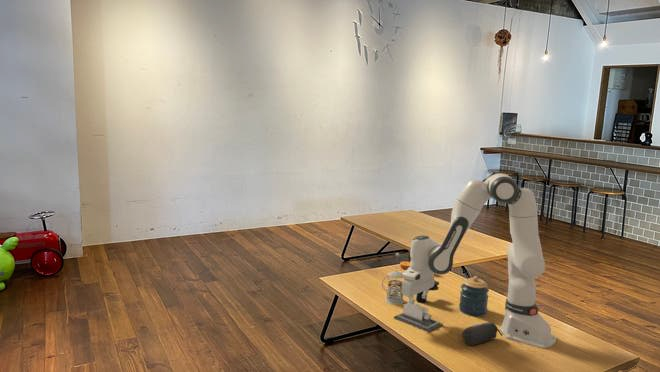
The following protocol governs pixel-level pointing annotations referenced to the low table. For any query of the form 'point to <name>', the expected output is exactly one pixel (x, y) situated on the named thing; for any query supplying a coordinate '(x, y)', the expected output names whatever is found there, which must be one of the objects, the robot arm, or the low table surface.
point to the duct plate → (425, 326)
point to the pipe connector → (435, 287)
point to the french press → (393, 297)
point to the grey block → (416, 313)
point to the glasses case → (480, 333)
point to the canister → (474, 297)
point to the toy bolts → (405, 265)
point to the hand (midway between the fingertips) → (418, 300)
